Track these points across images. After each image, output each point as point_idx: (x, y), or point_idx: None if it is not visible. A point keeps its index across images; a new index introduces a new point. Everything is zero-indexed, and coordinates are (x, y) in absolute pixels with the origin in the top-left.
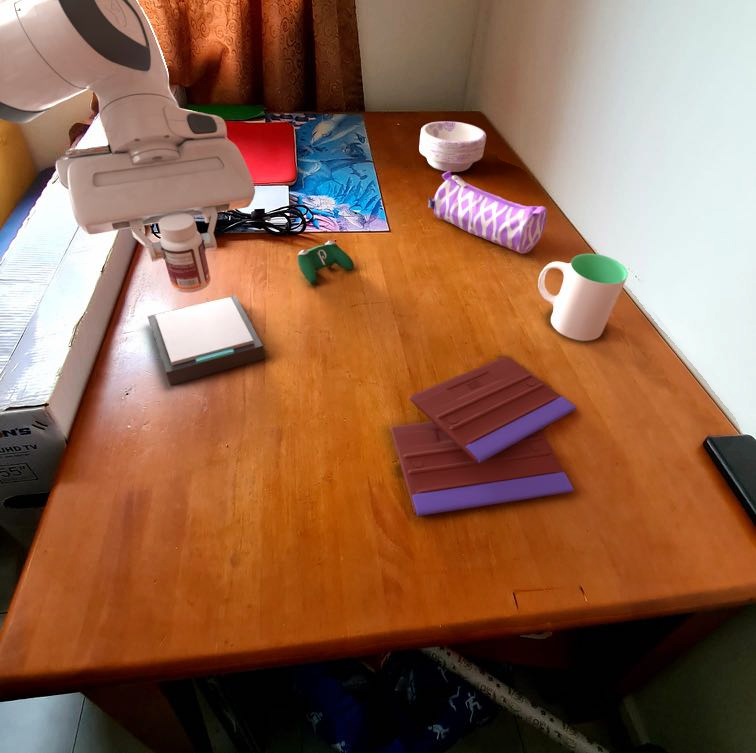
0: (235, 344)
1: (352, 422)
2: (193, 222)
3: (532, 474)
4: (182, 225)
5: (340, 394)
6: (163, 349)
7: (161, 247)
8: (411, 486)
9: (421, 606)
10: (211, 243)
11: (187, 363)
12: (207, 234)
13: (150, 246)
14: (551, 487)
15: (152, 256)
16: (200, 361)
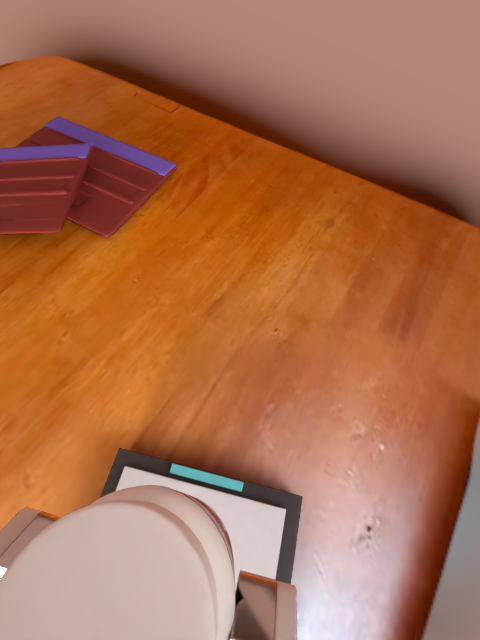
0: (159, 476)
1: (131, 272)
2: (32, 542)
3: (67, 135)
4: (102, 547)
5: (104, 315)
6: (280, 579)
7: (236, 606)
8: (156, 180)
9: (229, 135)
10: (38, 517)
11: (258, 496)
12: (8, 558)
13: (284, 634)
14: (69, 124)
15: (290, 587)
16: (236, 480)
